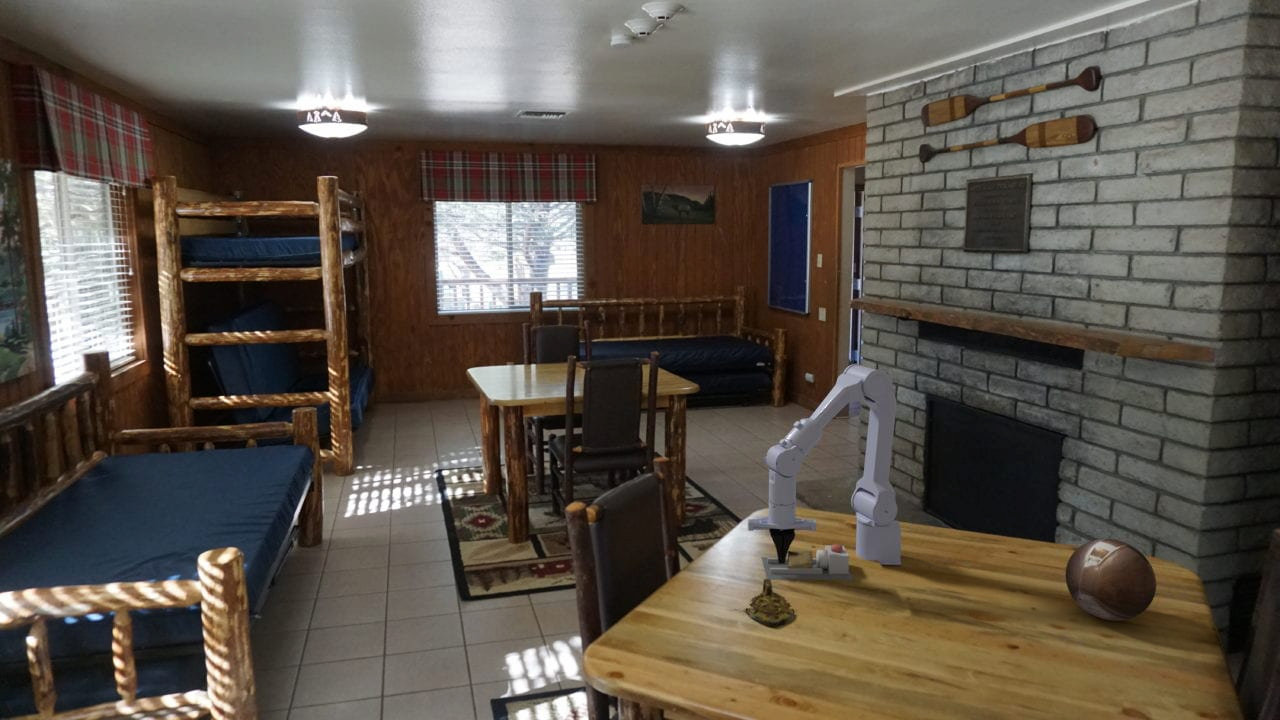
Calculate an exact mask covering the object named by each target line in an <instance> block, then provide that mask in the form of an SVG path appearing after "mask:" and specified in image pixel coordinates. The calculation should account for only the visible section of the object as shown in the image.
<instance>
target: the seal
mask: <svg viewBox="0 0 1280 720" xmlns="http://www.w3.org/2000/svg"><path fill="white" fill-rule="evenodd" d="M771 580H772V579H767V578H765V579H764V578H763V583H762V584H763V585H762V591H761V593H760V594H758V595H755V596H754V597H752V599H750V601H749V607H750V608H749V607H746V608H745V613H746V615H747V616H748V617H749V618H750V619H751V620H753V621H755V622H757V623H758V624H760V625H763V626H765V627H770V628H771V627H772V628H774V627H777V626H780V625H787V624H788V623H790V622H791V621H793V619H794V616H795V609H794V608H790V607H791V603H790V602H787V601H786V599H785V596H779V595H777V593H774V592H773V591H774V590H773V585H772V581H771Z"/></svg>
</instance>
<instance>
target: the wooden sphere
mask: <svg viewBox="0 0 1280 720" xmlns="http://www.w3.org/2000/svg"><path fill="white" fill-rule="evenodd" d="M1140 551H1141V550H1139V549H1137V548H1136V547H1134V546H1132V545H1131V544H1129V543H1126V542H1124V541H1121V540H1118V539H1112V538H1099V539H1094V540H1090V541H1087V542H1085V543H1083V544H1082V545H1080V546H1079V547H1078V548H1076V550H1074V551H1073V553H1071V556H1070V557H1069V559H1068V561H1067V563H1066V566H1065V567H1066V568H1065V583H1066V587H1067V589H1068V592H1069V594H1070V596H1071V597H1072V599H1073V600H1074V601H1075V603H1076V604H1077V605H1078V606H1079V607H1080V608H1081V609H1083V610H1084V611H1085V612H1087V613H1088V614H1090V615H1092V616H1094V617H1097V618H1099V619H1102V620H1106V621H1114V622H1116V621H1117V622H1118V621H1126V620H1130V619H1133V618H1135V617H1138V616H1139V615H1141V614H1142V613H1144V612H1145V611H1146V610H1147V609H1148V608H1149V606H1150V605H1151V604H1152V602H1153V601H1154V598H1155V595H1156V591H1157V579H1156V573H1155V571H1154V568H1153V567H1152V565H1151V563H1150V561H1149V560H1148V558H1147V557H1146V556H1145V555H1144V554H1143V553H1142V552H1140Z"/></svg>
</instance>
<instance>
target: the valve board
mask: <svg viewBox="0 0 1280 720" xmlns="http://www.w3.org/2000/svg"><path fill="white" fill-rule="evenodd" d="M815 556H816V557H813V568H788V567H787V556H786V559H785V563H779V562H778V556H776V557H775V556H773V557H772V556H768V557H767V556H762V557H761V561H762V565H763V568H764V573H765V577H766V579H770V580H803V581H807V580H808V581H809V580H811V581H812V580H814V581H815V580H817V581H819V580H820V581H821V580H822V581H824V580H825V581H826V580H827V581H833V580H835V581H847V580H848V581H854V577H853V575H852V574H851V571H850V570H849V566H850V565H849V564H850V563H849V561H850V560H849V559H850V555H849V553H848V551H847V550H846V548H845V546H844V545H842V544H839V543H835V544H834V543H833V544H831V545H824V549H817V550H816V555H815Z"/></svg>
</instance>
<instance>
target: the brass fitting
mask: <svg viewBox="0 0 1280 720" xmlns="http://www.w3.org/2000/svg"><path fill="white" fill-rule="evenodd" d="M786 557H787V567H788V568H813V558H814V557H813V552H812V550H788V552H787V555H786Z"/></svg>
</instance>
